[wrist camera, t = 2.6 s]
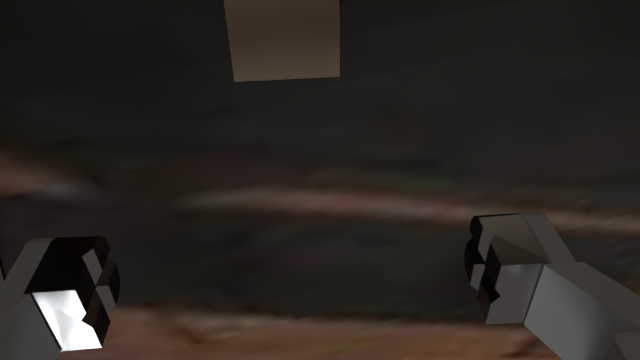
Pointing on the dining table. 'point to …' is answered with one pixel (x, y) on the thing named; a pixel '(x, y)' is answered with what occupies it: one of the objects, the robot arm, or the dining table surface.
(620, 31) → the dining table surface
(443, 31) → the dining table surface
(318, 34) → the walnut block
